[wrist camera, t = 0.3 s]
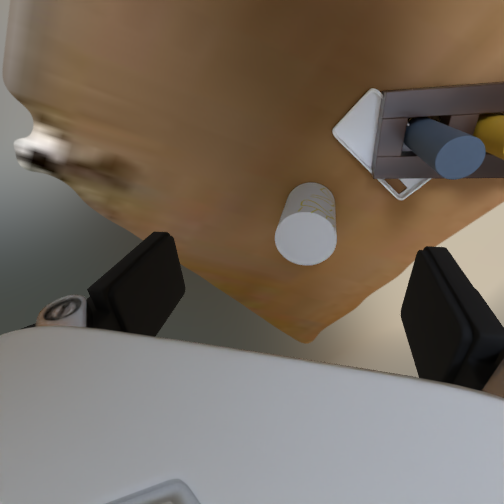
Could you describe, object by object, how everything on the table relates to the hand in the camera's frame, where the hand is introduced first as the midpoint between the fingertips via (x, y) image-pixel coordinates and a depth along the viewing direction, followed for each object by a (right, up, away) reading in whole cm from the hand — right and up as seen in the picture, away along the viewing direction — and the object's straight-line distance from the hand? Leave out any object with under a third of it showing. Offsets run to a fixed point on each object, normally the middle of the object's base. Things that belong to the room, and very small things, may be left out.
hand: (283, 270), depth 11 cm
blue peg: (+22, +17, +27) cm, 39 cm away
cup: (+9, +9, +36) cm, 38 cm away
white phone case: (+18, +15, +27) cm, 36 cm away
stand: (+25, +17, +26) cm, 40 cm away
